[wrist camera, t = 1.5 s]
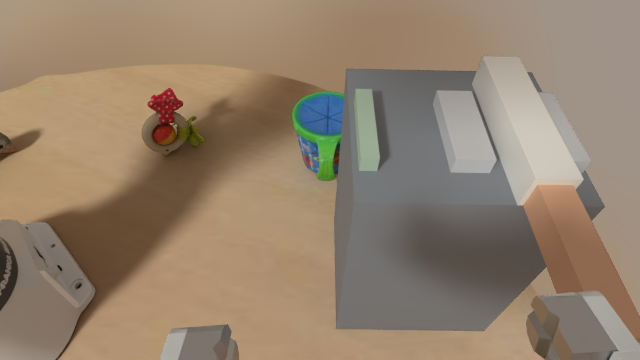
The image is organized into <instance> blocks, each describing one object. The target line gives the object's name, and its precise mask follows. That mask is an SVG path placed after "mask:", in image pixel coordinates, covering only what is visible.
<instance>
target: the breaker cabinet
mask: <svg viewBox="0 0 640 360" xmlns="http://www.w3.org/2000/svg"><path fill="white" fill-rule="evenodd" d="M476 72H477V71H431V70H382V69H381V70H380V69H346V81H345V93H344V106H343V118H342V130H341V142H340V155H339V167H338V179H337V192H336V204H335V216H334V232H335V288H336V329H381V330H452V331H484V330H485V329H486V328H487V327H488V326H489V325H490V324H491V323H492V322H493V321H494V320H495V319H496V318H497V317H498V316H499V315H500V314H501V313H502V312H503V311H504V310H505V309H506V308H507V307H508V306H509V305H510V303H511V302H512V301H513V300H514V299H515V298H516V297H517V296H518V295H519V294H520V293H521V292H522V291H523V290H524V289H525V288H526V287H527V286H528V285H529V284H530V283H531V282H532V281H533V280H534V279H535V278H536V277H537V276H538V275H539V274H540V273H541V272H542V271H543V270H544V269H545V268H546V267H547V266H546V264H545V261H544V259H543V256H542V253H541V251H540V248H539V246H538V243H537V241H536V238H535V235H534V233H533V230H532V228H531V225H530V222H529V220H528V217H527V215H526V212H525V209H524V207H523V205H517V203H516V200H515V198H514V195H513V192H512V190H511V187H510V184H509V182H508V179H507V176H506V174H505V171H504V168H503V166H502V163H501V160H500V158H499V155H498V152H497V150H496V147H495V144H494V142H493V139H492V136H491V134H490V131H489V128H488V126H487V123H486V120H485V118H484V115H483V112H482V110H481V107H480V104H479V102H478V99H477V96H476V94H475V91H474V88H473V86H472V82H473V80H474V77H475V74H476ZM527 73H528V75H529V77H530V79H531V81H532V83H533V85H534V87H535V88H536V90H537V92H538V94H539V96H540V98H541V100H542V102H543V103H544V105H545V107H546V109H547V111H548V113H549V115H550V117H551V119H552V120H553V122H554V124H555V126H556V128H557V130H558V132H559V134H560V135H561V137H562V139H563V141H564V143H565V145H566V147H567V149H568V151H569V152H570V154H571V156H572V158H573V160H574V162H575V164H576V166H577V167H578V169H579V171H580V173H581V175H582V177H583V179H584V180H583V181H582V183H581V184H580V185H579V186H578V187H577V189H576V191H577V193H578V195H579V197H580V199H581V201H582V203H583V205H584V207H585V209H586V211H587V213H588V215H589V217H590V219H591V221H592V220H593V218H594V217H595V216H596V215H597V214H598V213H599V212H600V211H601V210H602V209H603V208H604V207H605V206H604V204H603V203H602V201H601V199H600V197H599V195H598V193H597V192H596V190H595V188H594V186H593V184H592V182H591V181H590V179H589V177H588V175H587V173H586V171H585V169H586V168H587V167H588V165H589V164H590V163H591V160H590V158H589V156H588V155H587V153H586V151H585V149H584V147H583V146H582V144H581V142H580V140H579V139H578V137H577V135H576V133H575V132H574V130H573V128H572V126H571V125H570V123H569V121H568V119H567V117H566V116H565V114H564V112H563V110H562V109H561V107H560V105H559V103H558V102H557V100H556V98H555V97H554V95H553V93H545V92H542V90H541V89H540V87H539V85H538V83H537V81H536V80H535V78H534V76H533V74H532V73H530V72H527Z"/></svg>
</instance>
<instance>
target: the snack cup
mask: <svg viewBox="0 0 640 360" xmlns="http://www.w3.org/2000/svg"><path fill="white" fill-rule="evenodd" d="M343 106H344V94H342V93H337V92H330V91H326V92H317V93H313V94H310V95H307V96H305V97H303V98H302V99H301V100H299V101H298V102H297V103H296V105H295V106H294V109H293V111H292V121H293V126H294V129H295V131H296V132H297V136H298V140H299V144H300V147H301V152H302V155H303V160H304V162H305V165H306V166H307V168H309V169H311V170H312V171H314V172H316V173H317V178H318V179H319V180H322V181H331V180H334V179H335V177H336V176H335V173H338V167H339V155H340V142H341V130H342V118H343Z"/></svg>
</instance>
